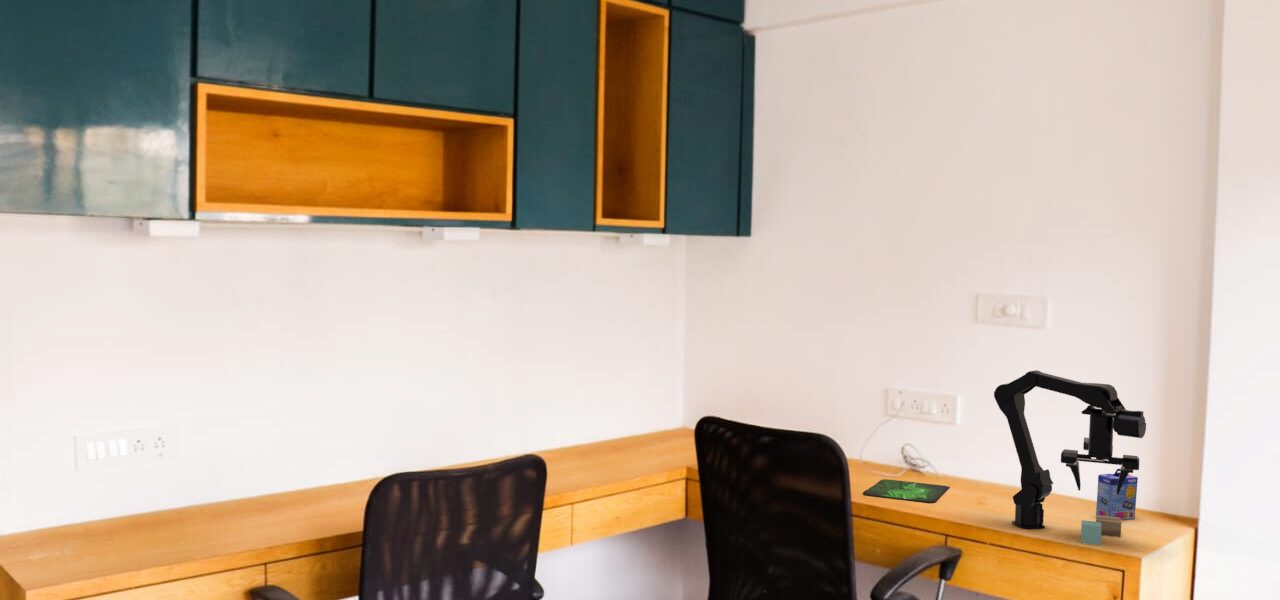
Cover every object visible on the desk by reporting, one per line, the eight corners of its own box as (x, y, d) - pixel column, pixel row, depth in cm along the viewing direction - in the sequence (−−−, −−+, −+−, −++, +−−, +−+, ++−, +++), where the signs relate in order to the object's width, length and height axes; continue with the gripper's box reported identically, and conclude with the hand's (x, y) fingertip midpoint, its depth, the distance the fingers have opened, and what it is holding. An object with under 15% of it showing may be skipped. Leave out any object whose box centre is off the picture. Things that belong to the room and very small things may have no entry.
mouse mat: (882, 479, 356) (882, 476, 356) (951, 487, 347) (951, 484, 347) (861, 496, 332) (861, 493, 332) (934, 505, 322) (934, 501, 322)
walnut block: (1120, 537, 289) (1121, 522, 289) (1096, 535, 291) (1096, 520, 291) (1119, 532, 294) (1120, 517, 294) (1095, 529, 297) (1096, 515, 296)
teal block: (1100, 545, 280) (1101, 526, 280) (1081, 543, 282) (1082, 524, 282) (1099, 541, 285) (1100, 522, 284) (1080, 539, 286) (1081, 520, 286)
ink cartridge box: (1109, 521, 305) (1111, 470, 304) (1094, 516, 310) (1096, 466, 310) (1136, 519, 309) (1139, 468, 308) (1121, 514, 314) (1124, 464, 313)
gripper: (1140, 431, 288) (1137, 490, 289) (1064, 425, 296) (1062, 482, 297) (1140, 438, 278) (1137, 498, 279) (1061, 431, 286) (1059, 490, 287)
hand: (1098, 492), depth 286 cm, fingers open, 9 cm apart
